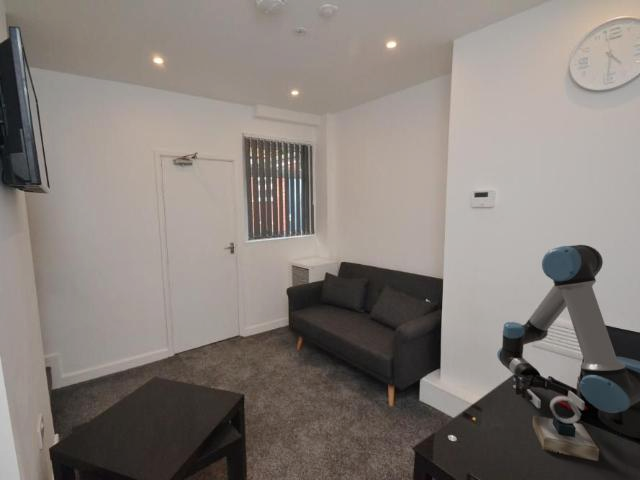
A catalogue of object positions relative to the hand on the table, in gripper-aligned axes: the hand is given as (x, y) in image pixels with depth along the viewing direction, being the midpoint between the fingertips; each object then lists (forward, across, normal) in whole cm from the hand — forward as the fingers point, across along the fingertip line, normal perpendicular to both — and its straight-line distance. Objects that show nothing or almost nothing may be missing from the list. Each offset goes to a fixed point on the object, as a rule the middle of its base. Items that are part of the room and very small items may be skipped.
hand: (561, 405), depth 105 cm
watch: (+1, 0, -8) cm, 8 cm away
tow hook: (-20, -17, -12) cm, 29 cm away
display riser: (+2, 0, -12) cm, 12 cm away
